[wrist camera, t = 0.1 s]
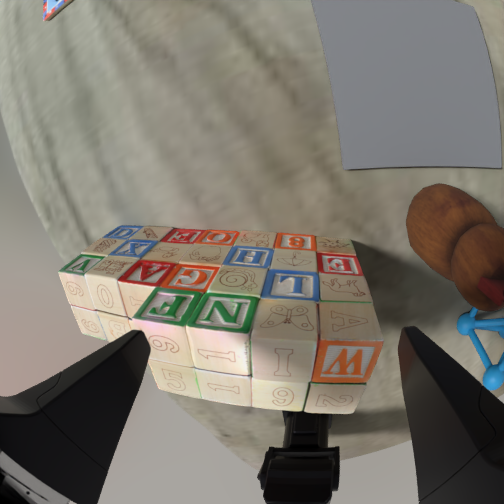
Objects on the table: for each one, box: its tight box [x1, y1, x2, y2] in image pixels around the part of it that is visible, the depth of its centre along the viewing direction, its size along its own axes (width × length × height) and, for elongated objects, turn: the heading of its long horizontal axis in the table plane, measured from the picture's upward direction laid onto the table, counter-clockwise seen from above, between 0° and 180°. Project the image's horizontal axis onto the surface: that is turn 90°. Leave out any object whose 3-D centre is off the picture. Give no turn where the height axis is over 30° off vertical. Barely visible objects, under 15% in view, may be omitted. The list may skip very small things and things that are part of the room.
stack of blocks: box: [58, 226, 384, 414], centre depth 19 cm, size 21×6×12 cm, turn 90°
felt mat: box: [311, 0, 502, 170], centre depth 15 cm, size 15×15×1 cm
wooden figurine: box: [406, 183, 504, 311], centre depth 13 cm, size 7×6×15 cm
